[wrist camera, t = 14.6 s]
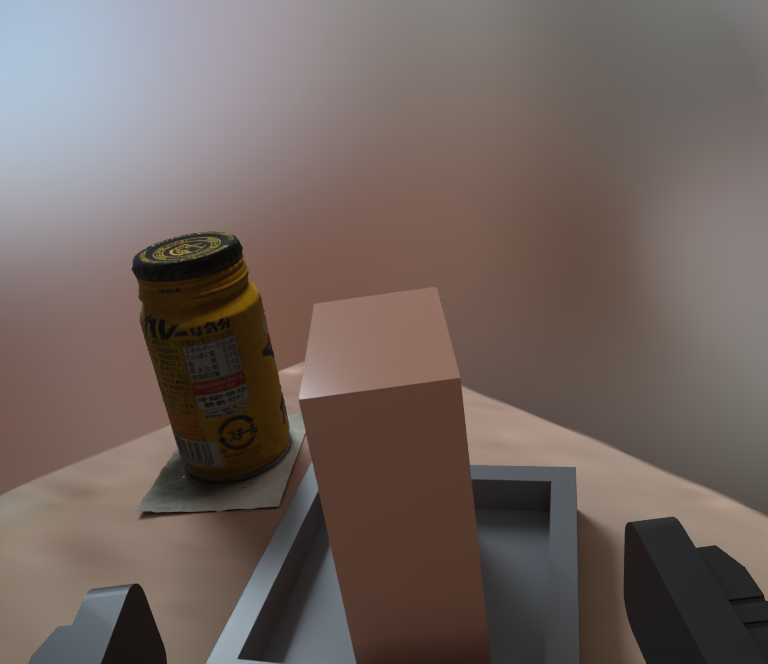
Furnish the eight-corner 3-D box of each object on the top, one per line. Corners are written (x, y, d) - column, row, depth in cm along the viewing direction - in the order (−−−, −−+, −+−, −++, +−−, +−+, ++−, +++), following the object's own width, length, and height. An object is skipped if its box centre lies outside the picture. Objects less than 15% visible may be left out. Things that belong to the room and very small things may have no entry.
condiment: (312, 415, 42) (270, 218, 37) (279, 509, 34) (221, 277, 29) (194, 424, 43) (138, 233, 38) (137, 516, 36) (58, 293, 31)
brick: (359, 678, 24) (298, 399, 20) (359, 538, 31) (314, 303, 26) (490, 661, 24) (460, 377, 20) (464, 525, 31) (436, 286, 26)
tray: (212, 727, 24) (196, 682, 23) (319, 499, 35) (311, 462, 34) (582, 774, 21) (580, 724, 20) (577, 508, 31) (575, 467, 31)
